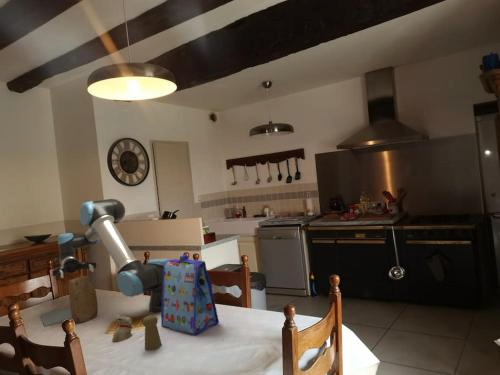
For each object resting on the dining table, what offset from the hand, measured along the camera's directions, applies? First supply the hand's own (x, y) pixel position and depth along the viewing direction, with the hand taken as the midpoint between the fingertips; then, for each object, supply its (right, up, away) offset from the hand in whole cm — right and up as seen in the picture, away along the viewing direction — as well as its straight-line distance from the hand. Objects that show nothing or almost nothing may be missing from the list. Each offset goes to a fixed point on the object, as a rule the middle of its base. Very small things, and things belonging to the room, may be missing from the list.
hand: (77, 272), depth 179 cm
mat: (-10, -22, +2) cm, 25 cm away
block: (+7, -21, -7) cm, 23 cm away
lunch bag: (+60, -15, -30) cm, 68 cm away
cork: (+49, -16, -47) cm, 70 cm away
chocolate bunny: (+34, -18, -35) cm, 52 cm away
